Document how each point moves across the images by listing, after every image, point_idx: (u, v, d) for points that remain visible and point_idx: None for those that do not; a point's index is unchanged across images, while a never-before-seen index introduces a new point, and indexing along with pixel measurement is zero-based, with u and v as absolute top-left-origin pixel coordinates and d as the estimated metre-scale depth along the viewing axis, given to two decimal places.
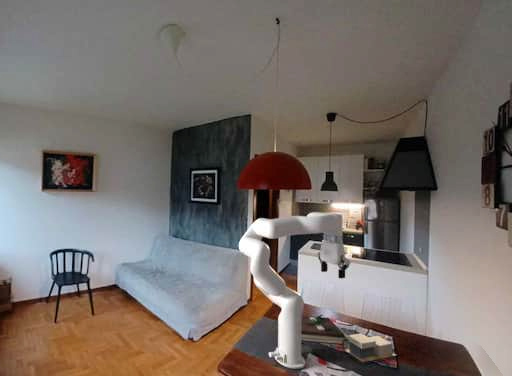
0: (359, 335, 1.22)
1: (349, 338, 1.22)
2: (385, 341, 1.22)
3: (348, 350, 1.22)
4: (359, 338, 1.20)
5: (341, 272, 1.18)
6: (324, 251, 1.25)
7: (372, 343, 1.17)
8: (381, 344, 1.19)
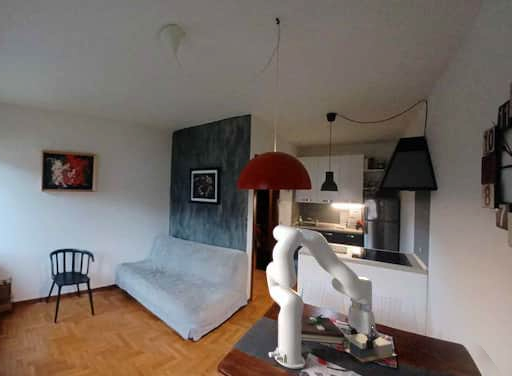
0: (359, 335, 1.22)
1: (349, 338, 1.22)
2: (385, 341, 1.22)
3: (348, 350, 1.22)
4: (359, 338, 1.20)
5: (369, 343, 1.16)
6: (352, 317, 1.21)
7: None
8: (381, 344, 1.19)
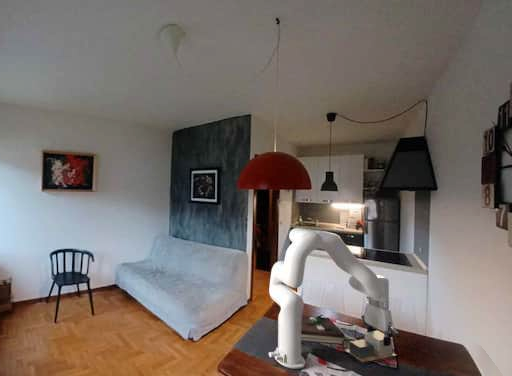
0: (376, 332, 1.25)
1: (366, 335, 1.24)
2: None
3: (348, 350, 1.22)
4: (376, 335, 1.23)
5: (386, 340, 1.18)
6: (369, 315, 1.24)
7: None
8: None
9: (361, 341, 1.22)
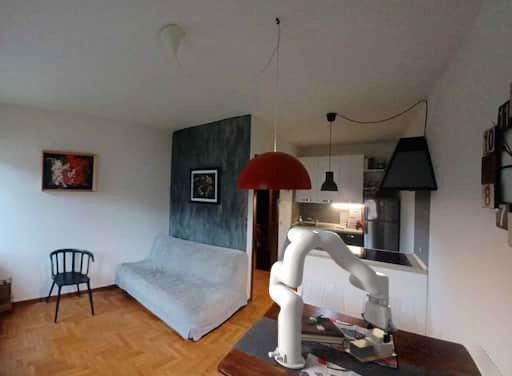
0: (375, 330, 1.25)
1: (366, 333, 1.24)
2: None
3: (348, 350, 1.22)
4: (376, 332, 1.23)
5: (386, 337, 1.18)
6: (369, 312, 1.24)
7: None
8: (381, 344, 1.19)
9: (361, 341, 1.22)
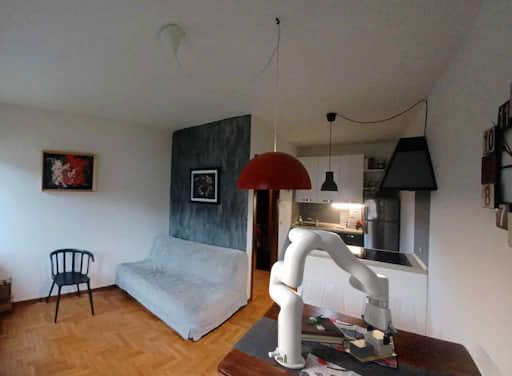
0: (375, 331, 1.25)
1: (365, 334, 1.24)
2: None
3: (348, 350, 1.22)
4: (376, 334, 1.22)
5: (386, 339, 1.18)
6: (369, 314, 1.24)
7: None
8: (381, 344, 1.19)
9: (361, 341, 1.22)
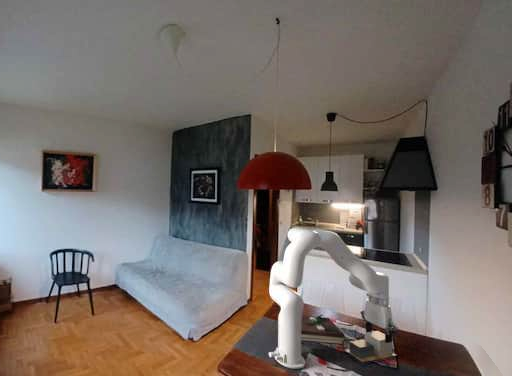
0: (375, 332, 1.25)
1: (366, 335, 1.24)
2: None
3: (348, 350, 1.22)
4: (376, 335, 1.22)
5: (388, 337, 1.17)
6: (369, 312, 1.24)
7: None
8: None
9: (361, 341, 1.22)
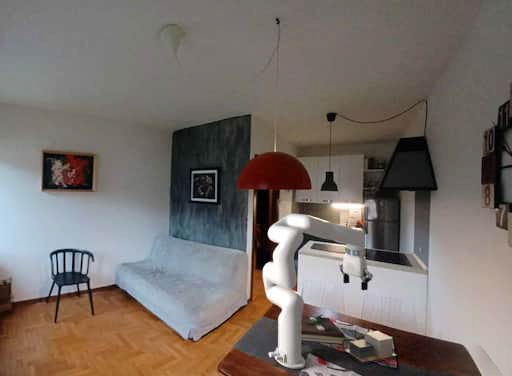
0: (375, 332, 1.25)
1: (366, 335, 1.24)
2: None
3: (348, 350, 1.22)
4: (376, 335, 1.22)
5: (364, 284, 1.26)
6: (347, 264, 1.33)
7: (389, 340, 1.20)
8: None
9: (361, 341, 1.22)
